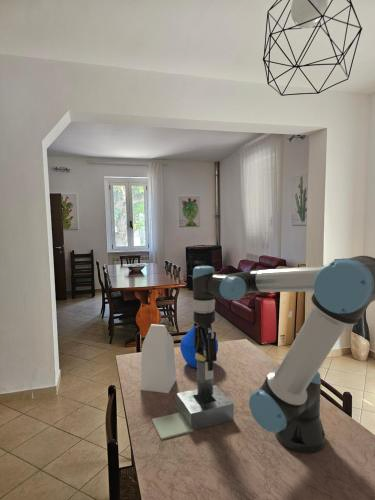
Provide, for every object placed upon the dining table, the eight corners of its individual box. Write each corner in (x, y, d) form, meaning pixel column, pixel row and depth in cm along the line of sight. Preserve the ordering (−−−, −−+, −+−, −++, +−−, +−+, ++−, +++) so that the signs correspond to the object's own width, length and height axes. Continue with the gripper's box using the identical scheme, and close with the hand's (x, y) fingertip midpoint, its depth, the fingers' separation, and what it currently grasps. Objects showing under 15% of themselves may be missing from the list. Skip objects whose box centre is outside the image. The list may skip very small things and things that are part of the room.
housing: (233, 419, 115) (233, 403, 114) (191, 430, 109) (190, 413, 109) (215, 399, 128) (215, 385, 127) (176, 408, 122) (176, 393, 122)
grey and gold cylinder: (217, 395, 116) (217, 356, 114) (200, 399, 113) (199, 359, 112) (209, 387, 122) (209, 349, 120) (193, 390, 119) (192, 352, 118)
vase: (186, 374, 149) (185, 310, 146) (176, 358, 166) (175, 300, 164) (223, 369, 154) (223, 307, 151) (210, 354, 171) (210, 298, 169)
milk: (140, 389, 136) (139, 328, 134) (150, 377, 147) (149, 320, 145) (168, 393, 133) (167, 330, 131) (176, 379, 144) (175, 321, 142)
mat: (193, 431, 109) (193, 429, 109) (161, 439, 105) (161, 438, 105) (181, 413, 119) (181, 411, 119) (151, 420, 115) (151, 418, 115)
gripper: (227, 316, 107) (227, 384, 109) (202, 303, 125) (203, 361, 127) (206, 319, 104) (207, 389, 106) (184, 305, 123) (185, 365, 124)
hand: (205, 374), depth 117 cm, fingers closed on grey and gold cylinder, 7 cm apart
